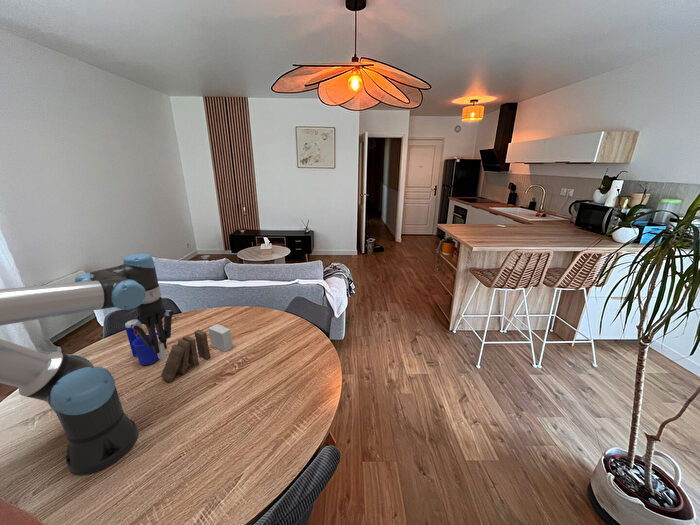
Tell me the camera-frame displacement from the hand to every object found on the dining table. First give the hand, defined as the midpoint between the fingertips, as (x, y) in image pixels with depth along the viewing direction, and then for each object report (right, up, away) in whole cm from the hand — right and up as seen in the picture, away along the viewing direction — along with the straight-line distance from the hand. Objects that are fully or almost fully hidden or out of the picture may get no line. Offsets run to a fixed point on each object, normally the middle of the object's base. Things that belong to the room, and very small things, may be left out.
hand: (162, 358), depth 102 cm
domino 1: (0, -9, +3) cm, 9 cm away
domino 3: (+5, -6, +11) cm, 14 cm away
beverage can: (-21, -4, +18) cm, 28 cm away
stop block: (+11, -2, +23) cm, 25 cm away
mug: (-14, -5, +15) cm, 21 cm away
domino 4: (+7, -5, +16) cm, 18 cm away
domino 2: (+2, -7, +7) cm, 10 cm away
